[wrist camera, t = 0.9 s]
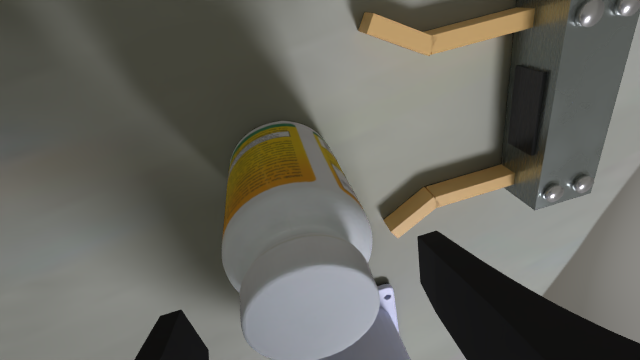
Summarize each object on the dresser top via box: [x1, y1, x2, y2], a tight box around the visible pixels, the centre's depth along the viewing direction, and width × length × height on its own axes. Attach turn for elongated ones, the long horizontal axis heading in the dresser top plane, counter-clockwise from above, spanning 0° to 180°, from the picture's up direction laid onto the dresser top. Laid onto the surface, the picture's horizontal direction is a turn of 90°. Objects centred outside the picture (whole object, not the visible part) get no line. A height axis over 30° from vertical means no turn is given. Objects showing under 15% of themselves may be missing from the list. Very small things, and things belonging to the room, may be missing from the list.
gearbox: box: [501, 0, 640, 210], centre depth 16 cm, size 13×4×3 cm, turn 12°
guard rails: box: [358, 7, 535, 238], centre depth 18 cm, size 12×8×1 cm, turn 12°
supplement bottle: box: [222, 121, 380, 360], centre depth 13 cm, size 5×5×10 cm
